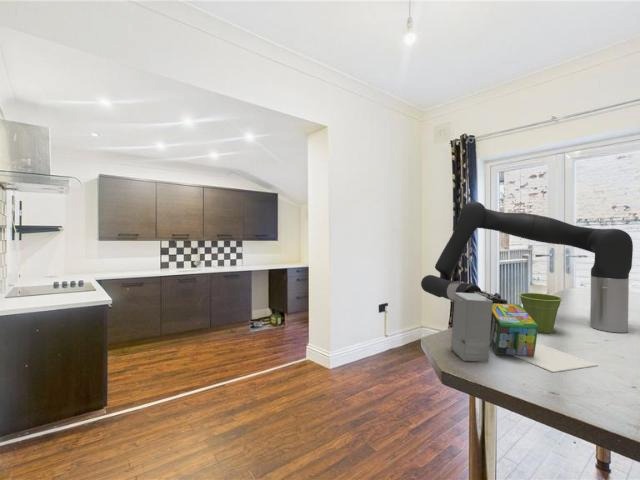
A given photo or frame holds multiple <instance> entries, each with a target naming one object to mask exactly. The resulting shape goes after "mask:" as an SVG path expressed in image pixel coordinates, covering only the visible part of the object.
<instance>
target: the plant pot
mask: <svg viewBox="0 0 640 480" xmlns="http://www.w3.org/2000/svg"><path fill="white" fill-rule="evenodd" d="M518 297H520V301H521V304H522V305H521V306H522V308H523V309H524V310H525V311H526V312H527V313H528V314H529V316H530V317H531V318H532V319H533V320H534V322H535V323H536V324H537V325H538V331H537V334H538V333H541V334H542V333H546V334H551V333H553V332H554V329H555V328H554V327H555V325H556V321H557V320H556V319H557V315H558V311H559V308H560V305H561V301H563V298H562V297H561V296H558V295H552V294H549V293H547V294H546V293H540V292H539V293H538V292H537V293H536V292H521V293H518Z"/></svg>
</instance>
